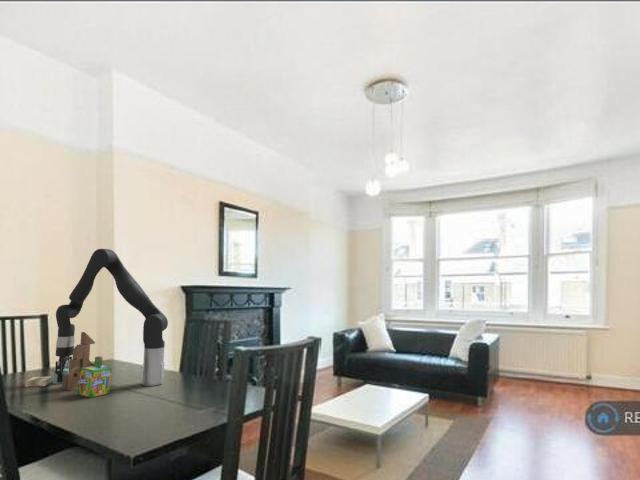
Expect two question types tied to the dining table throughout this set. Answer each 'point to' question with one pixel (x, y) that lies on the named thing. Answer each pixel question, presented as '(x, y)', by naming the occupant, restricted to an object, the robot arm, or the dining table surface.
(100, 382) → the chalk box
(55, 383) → the teal cube
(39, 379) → the maple pedestal
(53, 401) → the dining table surface
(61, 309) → the robot arm
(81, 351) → the wooden toy
